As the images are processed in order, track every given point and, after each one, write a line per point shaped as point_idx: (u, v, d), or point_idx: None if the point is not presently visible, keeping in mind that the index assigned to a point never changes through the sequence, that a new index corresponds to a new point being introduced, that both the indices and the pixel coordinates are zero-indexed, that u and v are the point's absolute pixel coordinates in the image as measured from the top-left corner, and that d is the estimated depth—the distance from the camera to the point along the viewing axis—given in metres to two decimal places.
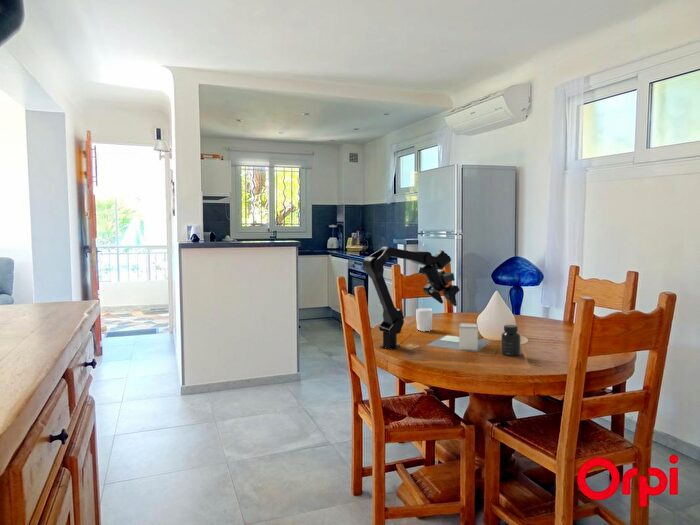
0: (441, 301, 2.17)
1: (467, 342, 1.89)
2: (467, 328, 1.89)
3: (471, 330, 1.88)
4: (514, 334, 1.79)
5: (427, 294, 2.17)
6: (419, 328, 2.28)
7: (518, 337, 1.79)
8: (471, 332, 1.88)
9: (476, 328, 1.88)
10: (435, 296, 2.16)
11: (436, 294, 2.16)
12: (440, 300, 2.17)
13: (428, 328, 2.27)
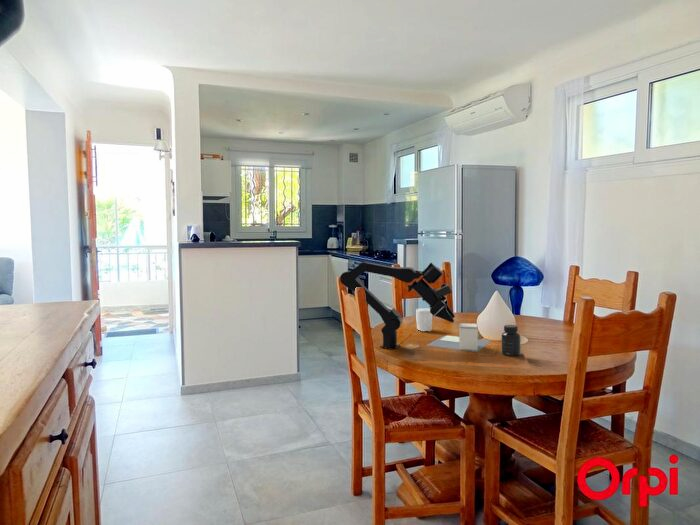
0: (452, 315, 1.97)
1: (467, 342, 1.89)
2: (467, 328, 1.89)
3: (471, 330, 1.88)
4: (514, 334, 1.79)
5: None
6: (419, 328, 2.28)
7: (518, 337, 1.79)
8: (471, 332, 1.88)
9: (476, 328, 1.88)
10: None
11: None
12: (450, 314, 1.98)
13: (428, 328, 2.27)
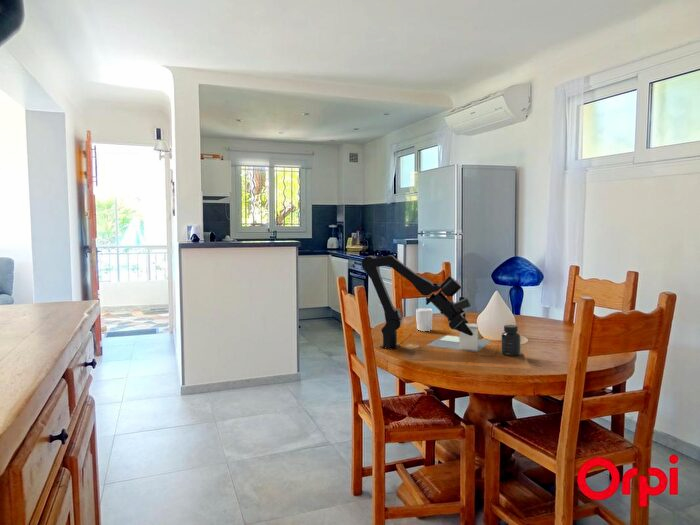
0: None
1: (467, 342, 1.89)
2: None
3: (471, 330, 1.88)
4: (514, 334, 1.79)
5: None
6: (419, 328, 2.28)
7: (518, 337, 1.79)
8: None
9: (476, 328, 1.88)
10: None
11: None
12: None
13: (428, 328, 2.27)
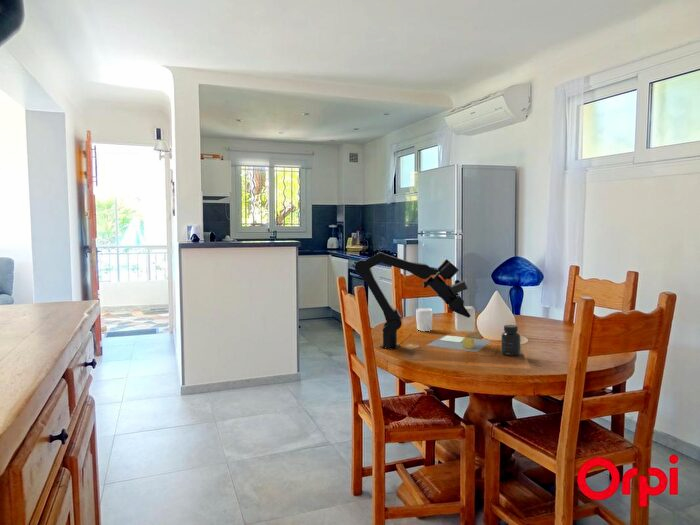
0: None
1: (465, 324, 1.93)
2: None
3: (468, 312, 1.92)
4: (514, 334, 1.79)
5: None
6: (419, 328, 2.28)
7: (518, 337, 1.79)
8: None
9: (473, 310, 1.92)
10: None
11: None
12: None
13: (428, 328, 2.27)
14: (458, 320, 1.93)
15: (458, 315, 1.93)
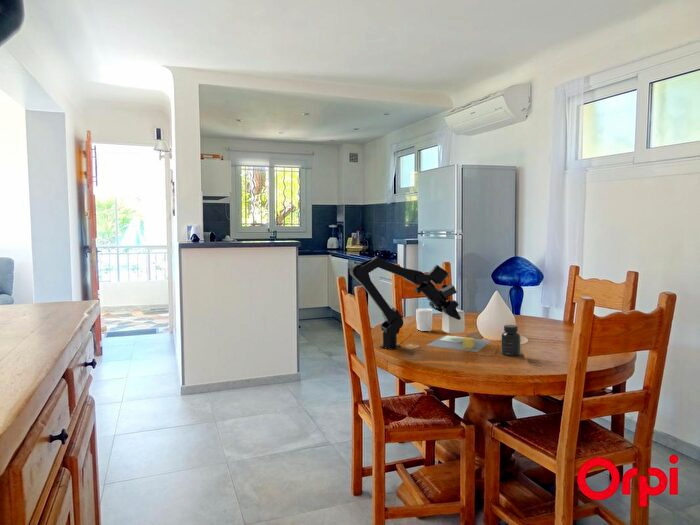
0: None
1: (456, 326, 2.02)
2: None
3: (459, 314, 2.02)
4: (514, 334, 1.79)
5: (435, 309, 2.10)
6: (419, 328, 2.28)
7: (518, 337, 1.79)
8: None
9: (463, 312, 2.03)
10: (442, 310, 2.09)
11: None
12: None
13: (428, 328, 2.27)
14: (450, 323, 2.02)
15: (450, 318, 2.01)
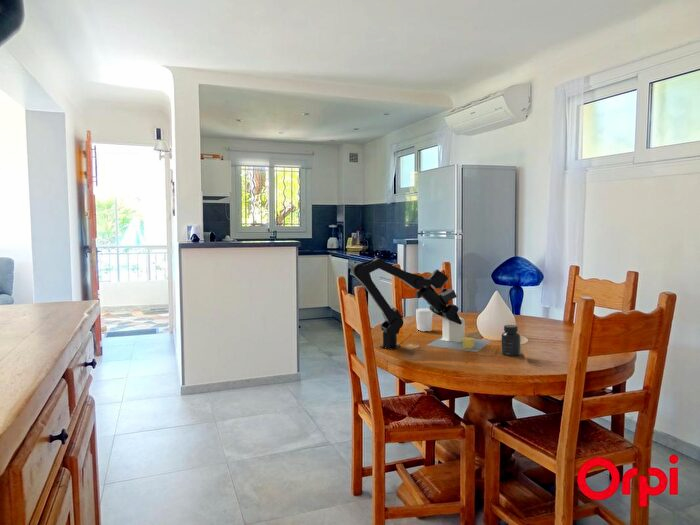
0: None
1: (456, 334, 2.03)
2: None
3: None
4: (514, 334, 1.79)
5: None
6: (419, 328, 2.28)
7: (518, 337, 1.79)
8: (459, 324, 2.03)
9: (463, 320, 2.03)
10: (442, 314, 2.10)
11: (443, 312, 2.10)
12: None
13: (428, 328, 2.27)
14: (450, 330, 2.02)
15: (450, 326, 2.02)
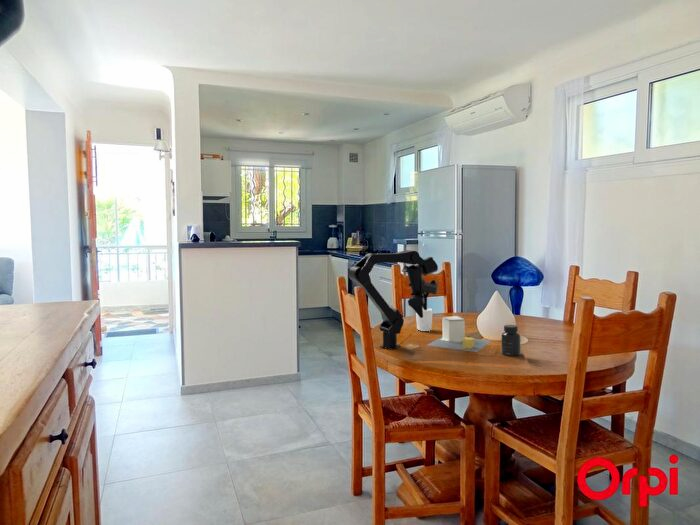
0: (425, 307, 2.10)
1: (456, 334, 2.03)
2: (456, 321, 2.02)
3: (459, 322, 2.03)
4: (514, 334, 1.79)
5: None
6: (419, 328, 2.28)
7: (518, 337, 1.79)
8: (459, 324, 2.03)
9: (463, 320, 2.03)
10: None
11: None
12: (424, 306, 2.10)
13: (428, 328, 2.27)
14: (450, 330, 2.02)
15: (450, 326, 2.02)
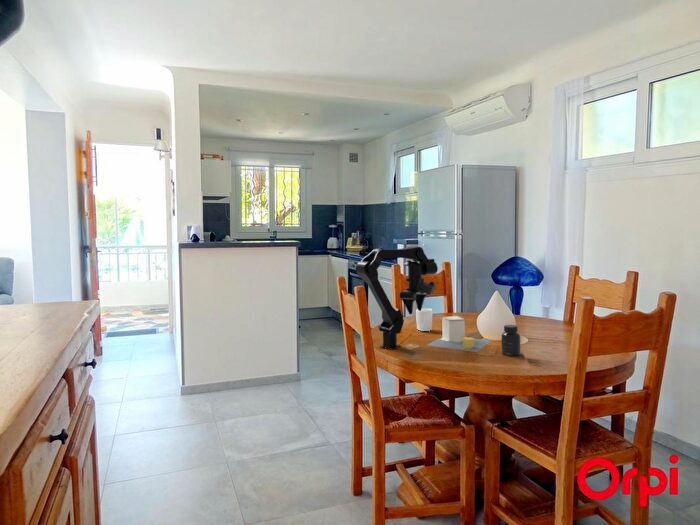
0: (419, 308, 2.10)
1: (456, 334, 2.03)
2: (456, 321, 2.02)
3: (459, 322, 2.03)
4: (514, 334, 1.79)
5: None
6: (419, 328, 2.28)
7: (518, 337, 1.79)
8: (459, 324, 2.03)
9: (463, 320, 2.03)
10: (417, 299, 2.11)
11: (419, 298, 2.10)
12: (419, 306, 2.10)
13: (428, 328, 2.27)
14: (450, 330, 2.02)
15: (450, 326, 2.02)
